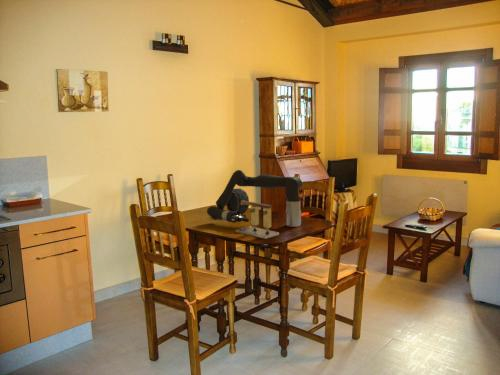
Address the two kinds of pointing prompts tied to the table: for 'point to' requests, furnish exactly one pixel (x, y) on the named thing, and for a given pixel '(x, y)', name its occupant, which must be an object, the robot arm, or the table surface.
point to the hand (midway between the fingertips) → (248, 220)
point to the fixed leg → (267, 219)
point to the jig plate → (257, 232)
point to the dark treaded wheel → (238, 201)
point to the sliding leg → (254, 216)
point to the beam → (256, 204)
